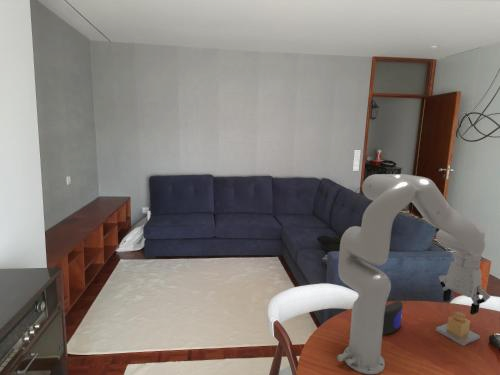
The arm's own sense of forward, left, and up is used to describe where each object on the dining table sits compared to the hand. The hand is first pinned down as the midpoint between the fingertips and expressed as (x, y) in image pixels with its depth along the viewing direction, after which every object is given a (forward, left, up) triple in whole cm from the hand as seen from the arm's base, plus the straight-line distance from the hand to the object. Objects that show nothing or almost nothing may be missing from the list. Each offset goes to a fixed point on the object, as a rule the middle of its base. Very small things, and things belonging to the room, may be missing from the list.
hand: (459, 306), depth 118 cm
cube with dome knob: (+1, 0, -10) cm, 10 cm away
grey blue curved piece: (-20, +14, -12) cm, 27 cm away
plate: (+1, 0, -11) cm, 11 cm away
